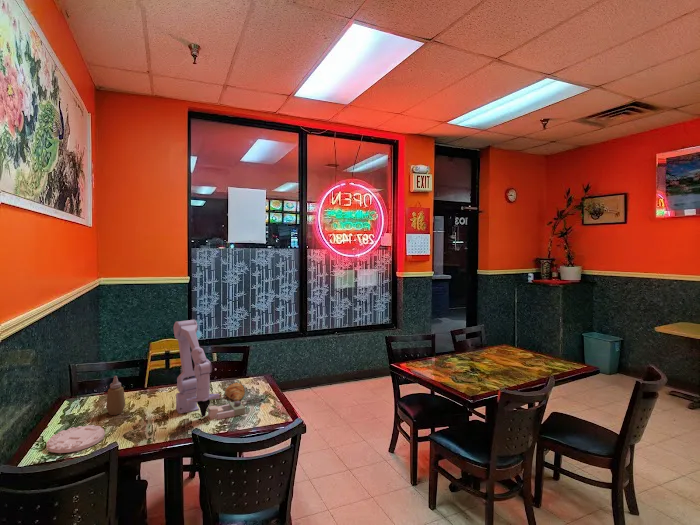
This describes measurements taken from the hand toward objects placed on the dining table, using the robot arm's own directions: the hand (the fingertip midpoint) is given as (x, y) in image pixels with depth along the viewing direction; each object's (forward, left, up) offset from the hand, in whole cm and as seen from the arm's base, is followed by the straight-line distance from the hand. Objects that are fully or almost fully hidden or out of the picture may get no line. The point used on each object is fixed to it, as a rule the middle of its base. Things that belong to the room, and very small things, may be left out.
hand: (203, 415), depth 190 cm
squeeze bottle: (-35, +28, -1) cm, 45 cm away
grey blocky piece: (+12, 0, -1) cm, 12 cm away
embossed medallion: (-50, +4, -2) cm, 50 cm away
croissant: (+21, +21, -2) cm, 30 cm away
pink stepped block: (+6, 0, -1) cm, 6 cm away
